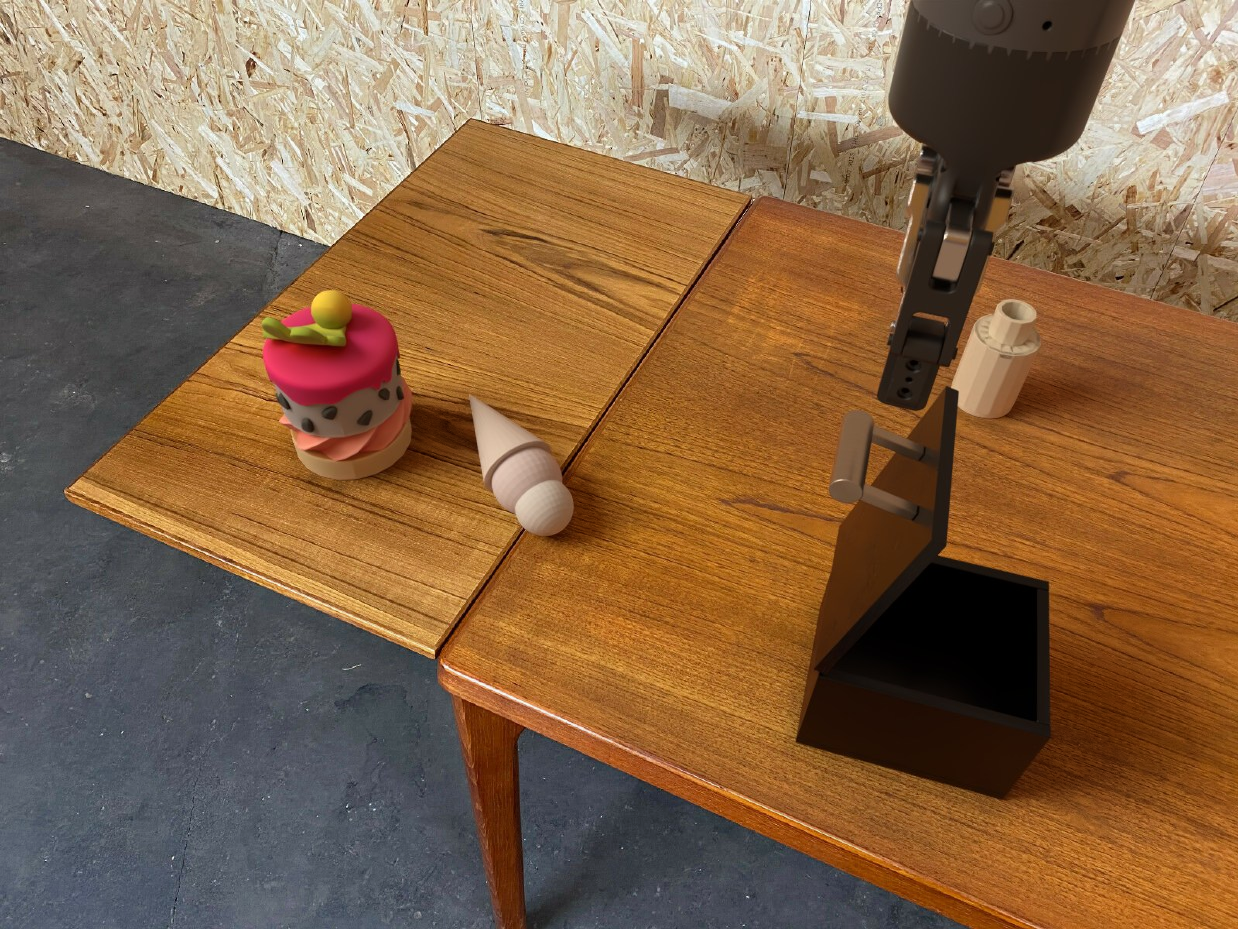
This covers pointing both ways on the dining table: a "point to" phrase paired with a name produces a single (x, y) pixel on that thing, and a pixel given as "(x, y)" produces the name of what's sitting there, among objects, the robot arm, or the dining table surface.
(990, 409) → the bottle
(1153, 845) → the dining table surface
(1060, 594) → the dining table surface
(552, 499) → the ice cream cone
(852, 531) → the bin lid
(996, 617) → the bin
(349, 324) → the cake
